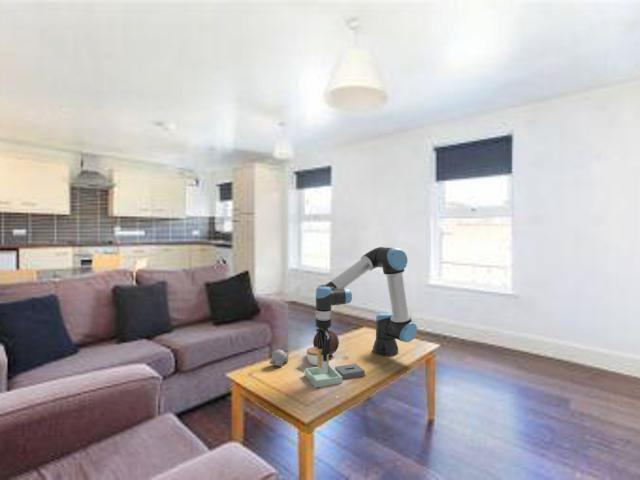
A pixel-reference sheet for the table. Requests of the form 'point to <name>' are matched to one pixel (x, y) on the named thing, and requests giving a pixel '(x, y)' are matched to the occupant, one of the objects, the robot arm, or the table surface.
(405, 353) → the table surface
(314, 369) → the parts tray
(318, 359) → the fuse
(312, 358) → the lidded jar
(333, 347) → the wooden sphere
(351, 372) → the socket block
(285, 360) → the toy rhinoceros
